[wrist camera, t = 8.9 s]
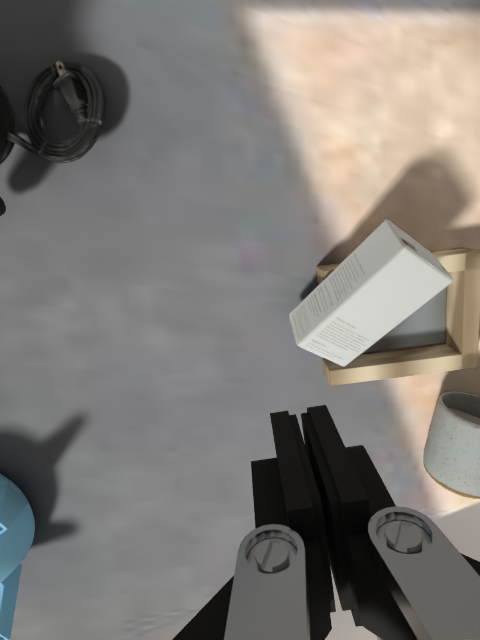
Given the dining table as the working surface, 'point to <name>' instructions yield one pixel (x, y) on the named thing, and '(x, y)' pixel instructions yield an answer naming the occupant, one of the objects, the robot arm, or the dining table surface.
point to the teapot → (12, 547)
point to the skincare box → (368, 295)
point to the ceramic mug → (455, 444)
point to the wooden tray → (424, 329)
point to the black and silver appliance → (89, 111)
